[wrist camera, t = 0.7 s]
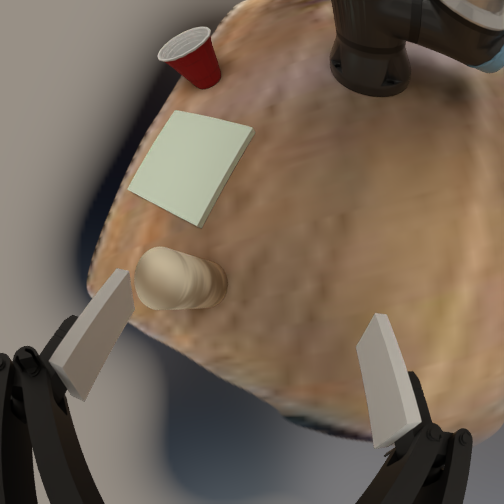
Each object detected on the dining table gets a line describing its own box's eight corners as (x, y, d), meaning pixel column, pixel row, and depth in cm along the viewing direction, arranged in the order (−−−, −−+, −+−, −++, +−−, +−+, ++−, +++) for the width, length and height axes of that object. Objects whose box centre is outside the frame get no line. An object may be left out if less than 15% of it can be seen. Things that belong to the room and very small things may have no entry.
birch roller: (198, 253, 41) (150, 236, 30) (235, 274, 39) (195, 264, 28) (178, 293, 41) (126, 289, 30) (214, 316, 39) (167, 322, 27)
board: (179, 114, 48) (175, 110, 46) (255, 132, 42) (252, 127, 40) (132, 192, 48) (127, 189, 46) (201, 228, 42) (196, 226, 40)
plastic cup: (228, 56, 48) (206, 18, 36) (237, 84, 45) (213, 41, 34) (183, 75, 50) (156, 42, 39) (187, 105, 48) (155, 69, 36)
